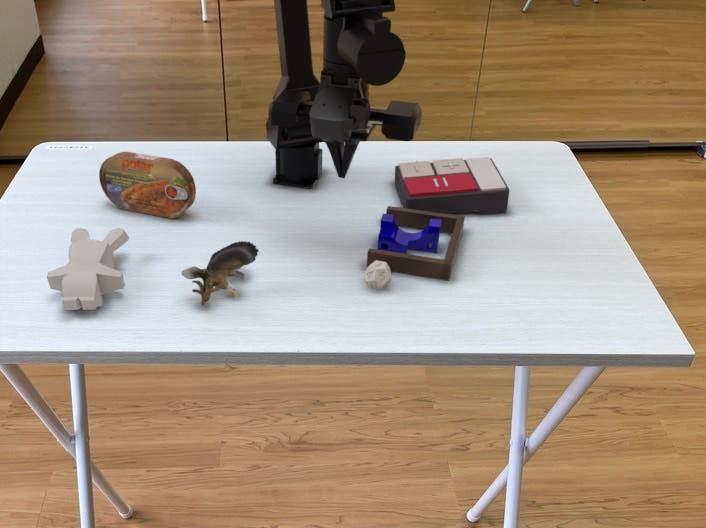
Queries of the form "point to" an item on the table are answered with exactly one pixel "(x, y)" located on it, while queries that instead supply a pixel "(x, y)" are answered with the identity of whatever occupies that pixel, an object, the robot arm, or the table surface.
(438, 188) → the calculator
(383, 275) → the game die
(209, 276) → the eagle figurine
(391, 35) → the robot arm
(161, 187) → the tin
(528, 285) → the table surface
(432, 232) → the cable holder
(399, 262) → the square wooden border
